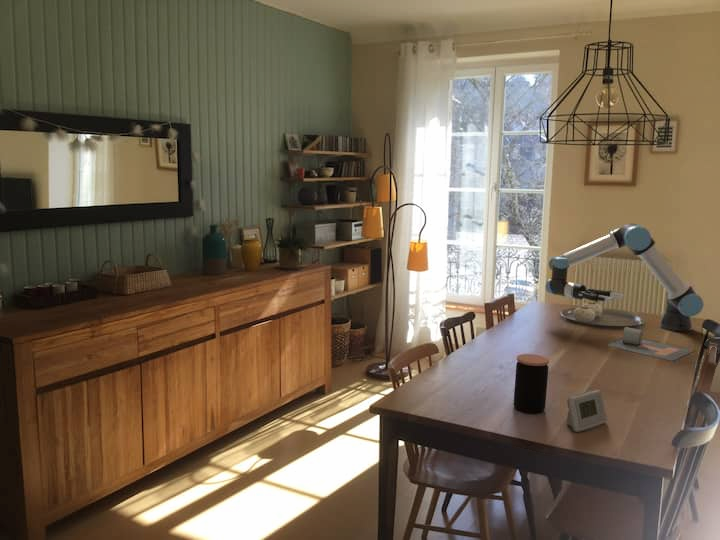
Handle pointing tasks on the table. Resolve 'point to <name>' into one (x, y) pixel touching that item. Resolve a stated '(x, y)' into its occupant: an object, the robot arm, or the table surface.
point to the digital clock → (586, 410)
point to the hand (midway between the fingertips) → (617, 298)
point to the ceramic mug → (632, 336)
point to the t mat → (653, 349)
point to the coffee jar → (531, 383)
